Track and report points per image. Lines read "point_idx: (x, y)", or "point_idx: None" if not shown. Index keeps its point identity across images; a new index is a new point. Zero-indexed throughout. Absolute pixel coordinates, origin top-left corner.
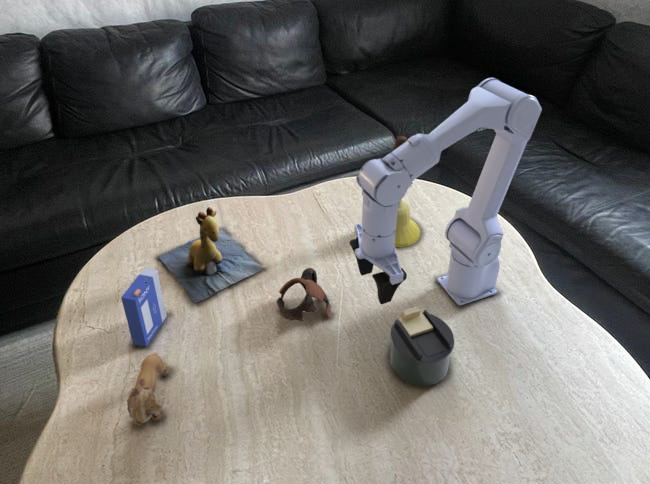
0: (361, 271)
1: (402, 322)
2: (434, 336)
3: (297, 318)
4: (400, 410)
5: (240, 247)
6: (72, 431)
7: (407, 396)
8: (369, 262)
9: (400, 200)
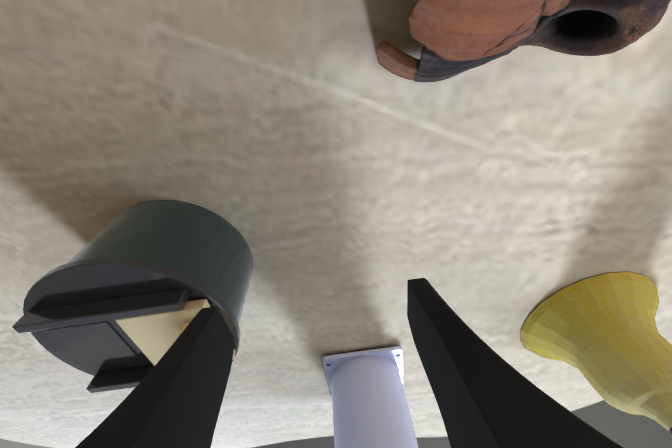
0: (416, 301)
1: (173, 315)
2: (139, 357)
3: None
4: (16, 179)
5: None
6: None
7: (69, 207)
8: (433, 372)
9: (669, 429)
